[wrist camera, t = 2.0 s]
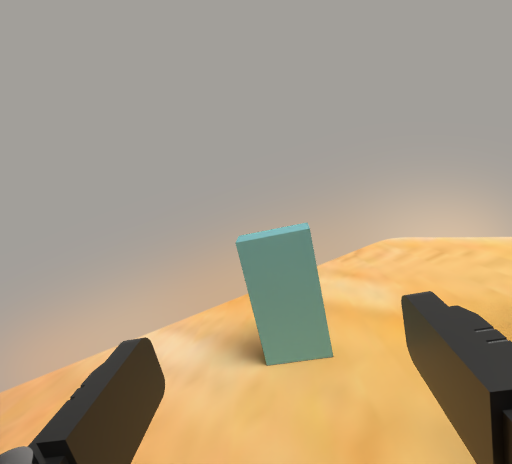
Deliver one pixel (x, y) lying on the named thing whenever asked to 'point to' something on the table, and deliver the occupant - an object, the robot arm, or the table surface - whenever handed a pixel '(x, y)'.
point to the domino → (285, 294)
